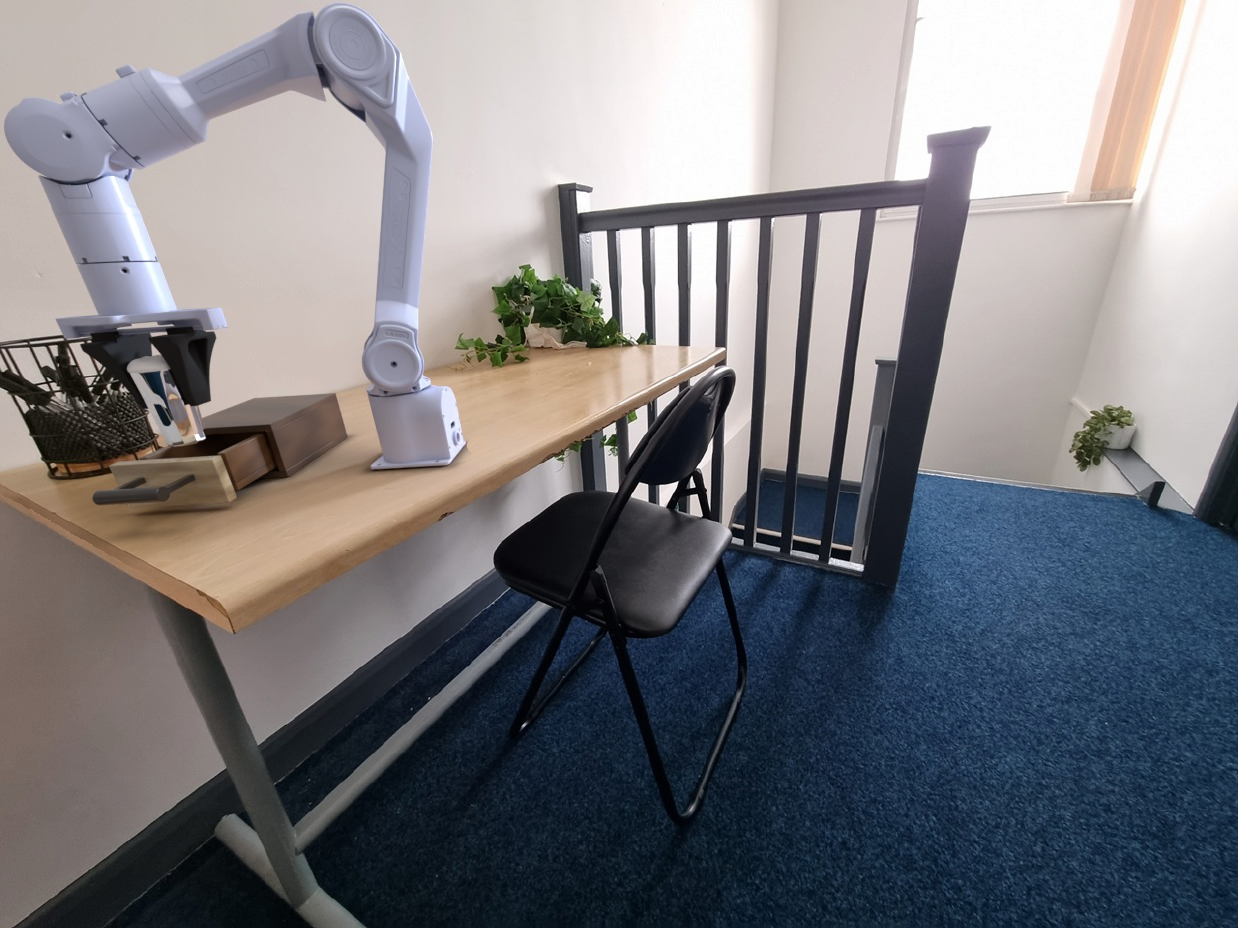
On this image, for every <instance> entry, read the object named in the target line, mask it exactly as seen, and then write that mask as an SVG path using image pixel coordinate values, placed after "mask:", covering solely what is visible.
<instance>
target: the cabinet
mask: <svg viewBox="0 0 1238 928" xmlns="http://www.w3.org/2000/svg"><path fill="white" fill-rule="evenodd" d="M202 420H203V423H204V427H205V430H206V434H207V435H212V434H228V433H245V432H262V431H266V433H267V436H268V439H269V442H270V445H271V448H272V451H273V454H274V457H275V460H276V463H277V465H278V466H277V467H275V468H274V469H272V470H270V471H269V472H267V473H265V474H264V475H262V476H261V477H259V478H257V479H256V480H259V479H275V478H288V477H290V476H291V475H293V474H294V473H296V472H297V471H299V470H301V469H302V468H304V467H306V465H308V464H310V463H311V462H312V461H314V460H315V459H317V458H318V457H320V456H321V455H323V454H325V453H326V452H327V451H329V450H331V449H332V448H334V447H335V446H336V445H338V444H340V443H341V442H342V441H344V440H346V439H347V438H348V433H347V429H346V425H345V422H344V418H343V415H342V411H341V408H340V404H339V401H338V397H337V393H336V392H333V393H332V392H331V393H315V394H313V393H312V394H300V395H297V394H296V395H283V396H265V397H253V398H251V399H249V400H246V401H243V402H241V403H238V404H235V405H233V406H230V407H227V408H225V409H222V410H220V411H216V412H214V413H212V414H209V415H206V416H204V417H202Z"/></svg>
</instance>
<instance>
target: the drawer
mask: <svg viewBox="0 0 1238 928" xmlns="http://www.w3.org/2000/svg"><path fill="white" fill-rule="evenodd" d="M277 466H278V465H277V463H276V460H275V457H274V454H273V451H272V448H271V445H270V442H269V439H268V436H267V433H266V431H262V432H245V433H228V434H212V435H207V438H206V440H204V441H201V442H199V443H196V444H191V445H187V446H180V447H171V446H168V445H166V446H164V447H162V448H159V449H157V450H155V451H152V452H150V453H147V454H145V455H143V456H140V457H139V459H138V460H137V459H136V460H122V461H117V462H113V463H111V464H109V466H108V467H109V469H110V471H111V474H113V477H114V479H115V482H116V484H117V485H118V487H116V488H113V489H100V490H97V491H95V492H94V493H93V494H92V497H91V500H92V502H93V503H94V505H97V506H115V505H127V506H128V508H129V509H140V508H141V509H142V508H160V507H175V506H176V507H177V506H192V505H210V504H211V505H212V504H228V503H231V502H233V501H234V500H236V499H237V498H238V497H237V494H236V491H240V490H241V489H242V488H244V487H246V486H248V485H249V484H251V483H252V482H254V481H256V480H258V479H257V478H259V477H261V476H262V475H264V474H265V473H267V472H269V471H270V470H272V469H274V468H275V467H277Z"/></svg>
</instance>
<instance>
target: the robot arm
mask: <svg viewBox="0 0 1238 928" xmlns="http://www.w3.org/2000/svg"><path fill="white" fill-rule="evenodd" d="M115 72H116V74H117V76H118V77H119V78H118V79H116V80H113V81H111V82H108V83H105V84H103V85H101V86H98V87H96V88H93V89H90V90H88V91H86V92H84V93H81V94H77V93H75V92H73V91H71V90H68V91H66V92H64V93H61V94H60V95H59V97H60V99H61V101H62V102H58V101H55V100H52V99H49V98H44V97H24V98H23V99H22V100H21V101H20V103H18V104H17V105H14V106H13V107H12V108H11V109H10V110H8V112H7V113H6V116H5V117H4V118H5V119H4V121H3V130H4V137H5V139H6V141H7V144H8V145H9V147H10V148H11V150H12V151H13V153H14V154H15V155H16V156H17V157H18V159H20V161H21V162H23V163H24V164H25V165H26V166H27V167H29V168H30V169H31V170H33V171H35V172H37V173H38V174H39V175H38V179H39V182H40V184H41V186H42V188H43V190H44V193H45V195H46V197H47V200H48V202H49V204H50V207H51V211H52V213H53V215H54V217H55V219H56V221H57V224H58V226H59V229H60V230H61V233H62V235H63V237H64V240H65V242H66V245H67V247H68V250H69V251H70V254H71V256H72V258H73V260H74V262H75V265H76V267H77V269H78V271H79V273H80V276H81V278H82V280H83V283H84V286H85V287H86V289H87V292H88V294H89V296H90V298H91V301H92V303H93V306H94V308H95V310H96V313H97V314H91V315H78V316H76V315H75V316H67V317H57V318H55V321H56V324H57V326H58V327H59V330H60V332H61V334H62V337H63V339H64V340H70V339H80V338H81V339H82V338H91V339H90V342H83V343H80V344H79V346H80V348H81V351H82V352H83V353H85V354H87V355H88V356H89V357H91V358H92V359H94V361H97V363H99V364H100V365H101V366H102V367H104V368H105V369H106V370H107V371H109V373H110V374H112V375H113V377H115V378H116V380H117V381H119V382H120V384H121V385H122V386H123V387H124V388H125V390H126V391H128V393H129V394H130V395H131V396H132V398H133V399H134V401H136V402H137V404H138V405H139V406H140V407H141V409H143V410H149V409H148V407H147V405H146V403H145V401H144V399H143V397H142V395H141V394H140V392H139V390H138V388H137V387H136V385H135V383H134V381H133V380H132V378H131V376H130V374H129V372H128V371H127V366H128V364H129V363H130V362H131V361H133V360H135V359H139V358H142V357H146V356H153V349H152V346H153V347H154V349H155V350H156V351H157V352H158V353H159V355H162V357H163V358H164V359H165V361H166V362H167V364H168V365H169V367H170V369H171V370H172V372H173V374H174V375H175V377H176V380H177V382H178V384H179V386H180V389H181V391H182V393H183V395H184V397H185V399H186V401H187V402H188V404H189V405H190V406H201V405H203V404H207V403H210V402H212V397H211V395H212V394H211V381H210V380H211V379H210V375H211V374H210V372H211V371H210V370H211V359H212V355H213V350H214V346H215V344H216V341H217V335H216V333H215V330H219V329H226V328H228V327H229V326H228V323H227V319H226V317H225V314H224V312H223V309H222V307H206V308H205V307H204V308H203V307H202V308H181V309H180V308H179V309H178V307H177V304H176V303H175V300H174V298H173V295H172V292H171V289H170V287H169V285H168V284H169V283H168V282H167V279H166V276H165V274H164V271H163V268H162V266H161V263H160V261H159V258H158V256H157V253H156V249H155V248H154V245H153V242H152V239H151V237H150V234H149V232H148V229H147V227H146V224H145V221H144V218H143V216H142V213H141V210H140V209H139V208H138V206H137V202H136V200H135V197H134V195H133V193H132V189H131V187H130V184H131V182H132V179H133V177H134V171H135V170H134V169H136V170H139V171H140V170H143V169H146V168H148V167H150V166H153V165H155V164H157V163H160V162H162V161H164V160H166V159H168V158H171V157H173V156H176V155H177V154H180V153H182V152H184V151H186V150H189V149H191V148H193V147H195V146H197V145H200V144H202V143H205V142H206V141H207V138H208V131H209V124H210V121H211V120H213V119H216V118H218V117H222V116H223V115H226V114H229V113H232V112H234V111H237V110H240V109H243V108H246V107H248V106H252V105H253V104H257V103H259V102H262V101H266V100H267V99H270V98H273V97H276V96H278V95H281V94H284V93H287V92H290V91H291V92H296V93H299V94H301V95H304V96H307V97H310V98H313V99H316V100H319V101H321V102H327V99H326V95H325V91H324V89H326V90H327V89H328V91H329V93H330V94H331V95H332V97H333V98H334V99H335V100H336V101H337V102H338V103H339V104H340V105H341V106H342V107H343V108H344V109H345V110H347V111H348V112H350V113H351V114H352V115H354V116H355V117H357V118H358V119H359V120H360V121H362V122H363V123H365V125H366V127H367V128H368V130H369V131H370V132H371V133H372V134H373V136H374V137H375V139H376V140H377V141H378V142H379V144H380V145H381V146H382V147H383V148H384V151H385V156H384V157H385V158H384V171H383V172H384V173H383V186H382V187H383V188H382V201H381V202H382V203H381V216H380V217H381V219H380V233H379V248H378V261H377V275H376V277H377V278H376V290H375V291H376V292H375V293H376V294H375V304H374V305H375V307H374V309H375V310H374V321H373V328H372V331H371V332H370V334H369V336H367V338H366V340H365V342H364V344H363V351H362V355H361V367H362V371H363V373H364V374H365V377H366V378H367V380H369V381H370V383H371V384H369V385H368V386H367V387H366V388H365V390H366V394H367V398H368V402H369V406H370V410H371V414H372V418H373V420H374V421H373V422H374V425H375V429H376V433H377V437H378V442H379V446H380V448H381V454H382V455H381V456H380V457H378V458H377V460H375V461H374V462H373V463H372V464H371V465H370V469H371V470H388V469H402V468H403V469H404V468H419V467H420V468H421V467H437V466H439V467H440V466H447V465H450V464H451V463H452V462H453V460H455V458H456V456H457V455H458V454H459V453H460V451H461V450H462V449H463V447H465V445H466V444H467V442H466V440H465V439H464V436H463V430H462V425H461V419H460V414H459V409H458V403H457V399H456V395H455V394H454V391H453V389H452V388H451V387H449V386H446V385H434V384H432V382H431V379H430V377H428V376H425V375H424V373H425V372H424V371H425V360H424V356H423V353H422V351H421V349H420V346H419V341H418V340H419V305H420V294H421V283H422V272H423V261H424V249H425V239H426V237H425V236H426V228H427V227H426V226H427V225H426V224H427V214H428V202H429V194H430V193H429V192H430V184H431V183H430V182H431V171H432V170H431V169H432V159H433V148H434V139H433V132H432V129H431V127H430V124H429V122H428V119H427V117H426V114H425V112H424V110H423V108H422V106H421V104H420V101H419V99H418V97H417V96H418V95H417V94H416V91H415V88H414V87H413V83H412V82H411V79H410V77H409V74H408V72H407V68H406V64H405V61H404V58H403V55H402V53H401V51H400V49H399V47H398V46H397V45H396V44H395V43H394V41H393V40H392V39H391V38H390V36H389V35H388V34H387V32H386V31H385V30H384V29H383V28H382V26H381V25H380V24H379V22H378V21H377V19H375V17H373V16H372V15H371V14H370V13H369V12H367V11H366V10H364V9H363V8H361V7H360V6H358V5H357V4H356V5H355V4H352V3H350V2H345V1H337V2H331V3H329V4H326V5H325V6H323V7H322V8H321V9H320V10H319V12H318V13H317V14H316V16H315V14H314V11H313V10H309V11H303V12H298V13H296V14H295V15H294V16H292V17H291V18H289V19H287V20H286V21H285V22H282V24H280V25H279V26H277V27H275V28H274V29H272V30H269V31H268V32H265V33H263V34H262V35H259V36H258V37H256V38H253V39H251V40H249V41H247V42H245V43H243V44H241V45H239V46H237V47H235V48H233V49H231V50H228V51H227V52H225V53H223V54H221V55H219V56H217V57H215V58H213V59H211V60H209V61H206V62H205V63H203V64H201V65H199V66H197V67H195V68H193V69H191V70H189V71H186V72H185V73H183V74H180V75H179V76H174V75H171V74H167V73H165V72H162V71H159V70H157V69H156V68H152V67H149V66H148V67H145V68H143V69H140V70H137V69H136V68H135V67H133V66H132V65H131V64H124V65H123V66H119V67H117V68H116V69H115ZM146 323H156V324H157V326H149V327H134V328H133V327H132V325H133V324H146ZM127 327H130V328H127ZM131 327H132V328H131ZM155 333H157V334H158V333H166V334H161V335H155V336H152V334H155Z"/></svg>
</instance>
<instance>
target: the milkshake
mask: <svg viewBox="0 0 1238 928" xmlns="http://www.w3.org/2000/svg"><path fill="white" fill-rule="evenodd" d="M127 371H128V372H129V374H130V376H131V378H132V380H133V381H134V383H135V385H136V387H137V388H138V390H139V392H140V394H141V395H142V397H143V399H144V401H145V403H146V405H147V407H148V409H147V410H149V412H150V414H151V416H152V418H153V420H154V421H155V423H156V426H157V427H158V429H159V431H160V433H161V435H162V437H163V438H164V441H165V443H166V444H167V446H171V447H180V446H187V445H191V444H196V443H199V442H201V441H204V440H206V438H207V434H206V430H205V427H204V423H203V420H202V418H203V417H202V414H201V409H200V407H199V406H200V405H198V406H190V405H189V404H188V402H187V401H186V399H185V397H184V395H183V393H182V391H181V389H180V386H179V384H178V382H177V380H176V377H175V375H174V374H173V372H172V370H171V369H170V367H169V365H168V364H167V362H166V361H165V359H164V358H163V357H162V355H161V354H155V355H152V356H146V357H142V358H139V359H135V360H133V361H131V362H130V363H129V364H128V366H127Z"/></svg>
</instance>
